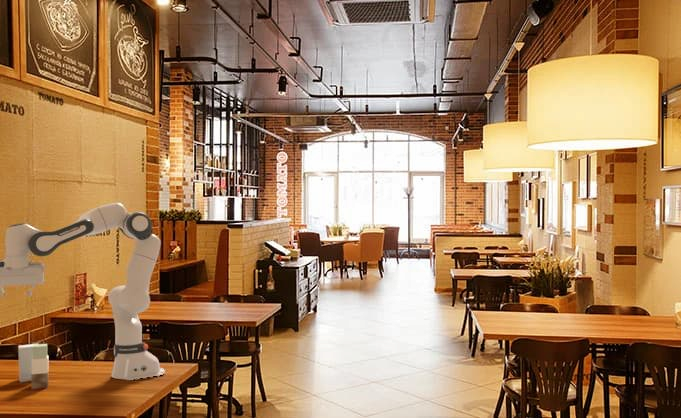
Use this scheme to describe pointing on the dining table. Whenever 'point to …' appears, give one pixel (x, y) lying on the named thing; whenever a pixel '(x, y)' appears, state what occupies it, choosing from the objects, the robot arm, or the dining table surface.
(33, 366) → the block top
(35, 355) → the block small
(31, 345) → the skincare box
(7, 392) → the dining table surface
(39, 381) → the block bottom
